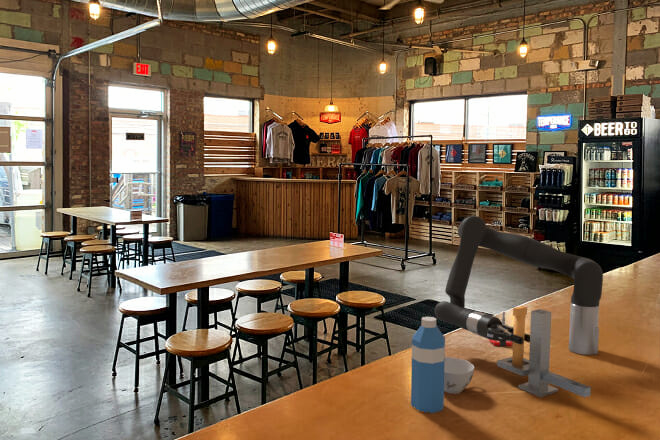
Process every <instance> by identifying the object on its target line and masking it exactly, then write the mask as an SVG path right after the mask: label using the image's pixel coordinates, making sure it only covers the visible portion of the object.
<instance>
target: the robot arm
mask: <svg viewBox="0 0 660 440" xmlns="http://www.w3.org/2000/svg"><path fill="white" fill-rule="evenodd" d="M457 234H458V236H459V238H460V240H459V244H458V245H459V246H458V250H457V254H456V256H455V259H454V262H453V264H452V267H451V269H450V272H449V275H448V278H447V283H446V285H445V290H444V292H445V294H446V295H447V296H448V297H449V299H450V301H445V300H443V301H439V302H438V303H437V304H436V305H435V307H434V314H435V318H436V319H438V320H439V321H441V322H444V323H447V324H449V325H453V326H457V327H459V328H461V329H463V330H465V331H468V332H471V333H472V334H475V335H477V336H479V337H481V338H484V339H487V340H489V339H490V340H494V341H497V342H499V341H501V342H507V341H509V342H515V343H517V344H520V345H521V344H523V337H520V336H518V335H515V334H514V326H509V325H508V324H506V323H505V324H502V319H500V318H499V317H497V316H494V315H490V314H488V313H486V312H485V313H484V312H481V311H475V310H473V309H470V308H466V307H465V306H466V305H465V302H466V301H465V300H466V298H465V297H466V296H465V295H466V291H467V288H468V285H469V284H468V283H469V279H470V276H471V272H472V268H473V265H474V260H475V257H476V255H477V252H478V249H479V247H481V248H485V249H488V250H491V251H494V252H496V253H499V254H501V255H504V256H505V257H507V258H510V259H513V260H515V261H518V262H520V263H523V264H526V265H530V266H532V267H536V268H541V269H548V270H553V271H556V272H557V273H558V272H559V273H560V274H563V275H565V276H567V277H569V278H571V279H573V291H572V294H571V296H570V310H569V311H570V312H569V331H568V332H569V333H568V335H569V337H568V350H569V351H570V352H571V353H575V354H580V355H585V356H586V355H587V356H589V355H598V354H599V352H598V351H599V340H600V339H599V335H600V328H599V319H600V318H599V315H600V301H601V299H602V293H603V284H604V283H603V282H604V281H603V280H604V273H603V269H602V267H601V265H599V264H598V263H597V262H595V260H592V259H590V258H587V257H583V256H579V255H575V254H571V253H568V252H564V251H561V250H559V249H557V248H555V247H553V246H552V245H549V244H547V243H545V242H542V241H539V240H537V239H534V238H531V237H529V236H525V235H522V234H515V233H509V232H502V231H499V230H495V229H493V228H491V227H487V225H486V222H485V221H484V220H483V218H482V217H480V216H477V215H471V216H468V217H466V218H464V219H463V220H462V221H461V223H460V224H459V226H458V227H457ZM524 342H527V343H530V333H529V334H528V333H526V332H525V336H524Z"/></svg>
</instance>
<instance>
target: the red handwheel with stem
mask: <svg viewBox="0 0 660 440" xmlns="http://www.w3.org/2000/svg"><path fill="white" fill-rule="evenodd" d="M505 314H506V311H502V316H501V322H502V324H506V317H505V316H506V315H505ZM488 341H489V343H491V344H493V346H495V347H497V346H498V347H511V348H513V342H509V341H506V342H501V341H496V340H490V339H488Z"/></svg>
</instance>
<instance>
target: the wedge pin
mask: <svg viewBox="0 0 660 440" xmlns="http://www.w3.org/2000/svg"><path fill="white" fill-rule="evenodd" d="M526 315H527V316H528V306H525V305H519V306H516V307H513V308H512V316H513V317H514V318H513V327H514V334H515V335H518V336H520V337H523V344H521V345H520V344H517V343H515V342H513V343H512V357H513V358H512V364H514V365H516V366H519V367H521V366H523V358H524V356H525V341H524V336H525V333H526V332H525V331H526Z"/></svg>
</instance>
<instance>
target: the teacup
mask: <svg viewBox="0 0 660 440" xmlns="http://www.w3.org/2000/svg"><path fill="white" fill-rule="evenodd" d="M474 371H475V365H474V364H472V363H471V362H470V361H468V360H466V359H463V358H462V359H461V358H457V357H453V356H445V367H444V393H448V394H453V395H454V394H455V395H456V394H460V393H461V392H462V391H463V390H465V389H466V388H467V387H468V385H470V383H471V381H472V379H473V376H474V373H475V372H474Z"/></svg>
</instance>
